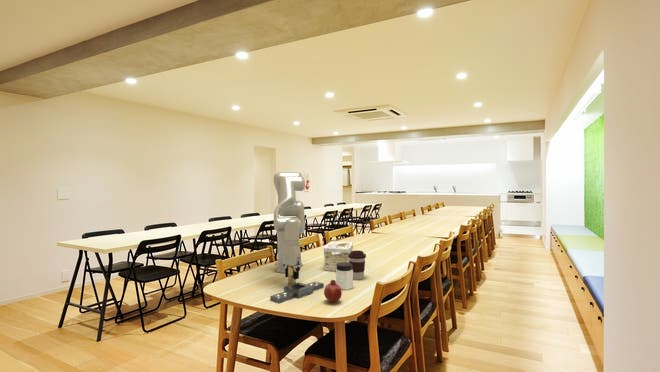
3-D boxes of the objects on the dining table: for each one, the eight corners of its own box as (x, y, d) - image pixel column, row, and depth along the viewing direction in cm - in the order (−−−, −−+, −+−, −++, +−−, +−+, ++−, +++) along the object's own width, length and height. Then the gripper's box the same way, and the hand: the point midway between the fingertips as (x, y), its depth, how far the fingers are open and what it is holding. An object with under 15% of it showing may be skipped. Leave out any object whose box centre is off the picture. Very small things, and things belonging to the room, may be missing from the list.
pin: (286, 286, 176) (286, 263, 176) (292, 284, 179) (292, 261, 179) (291, 287, 174) (291, 264, 174) (297, 286, 177) (297, 263, 177)
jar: (333, 289, 172) (333, 265, 172) (338, 284, 180) (338, 261, 180) (350, 290, 169) (350, 266, 169) (354, 285, 177) (354, 262, 177)
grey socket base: (267, 299, 157) (267, 292, 157) (312, 284, 180) (312, 278, 180) (282, 304, 150) (282, 296, 150) (326, 288, 173) (326, 281, 173)
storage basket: (329, 262, 230) (329, 240, 230) (353, 263, 227) (353, 241, 227) (322, 271, 206) (322, 247, 206) (349, 272, 203) (349, 248, 203)
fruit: (333, 297, 159) (333, 276, 159) (345, 302, 153) (345, 280, 153) (320, 301, 154) (320, 279, 154) (332, 306, 148) (332, 283, 148)
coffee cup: (345, 279, 189) (345, 252, 189) (352, 274, 198) (352, 249, 198) (361, 281, 185) (361, 254, 185) (368, 277, 194) (368, 250, 193)
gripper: (275, 242, 179) (275, 276, 179) (298, 246, 168) (298, 282, 168) (286, 240, 185) (286, 273, 185) (308, 244, 174) (308, 279, 174)
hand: (291, 277), depth 177 cm, fingers open, 5 cm apart
